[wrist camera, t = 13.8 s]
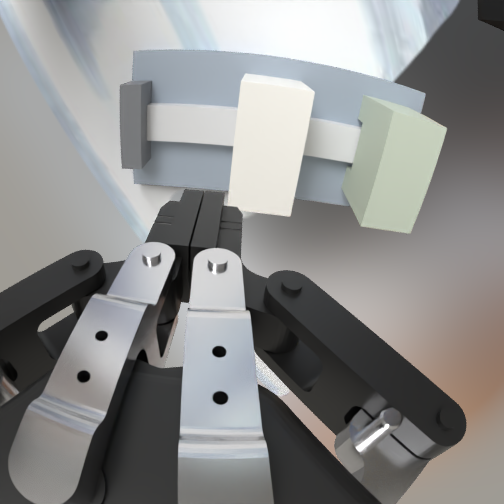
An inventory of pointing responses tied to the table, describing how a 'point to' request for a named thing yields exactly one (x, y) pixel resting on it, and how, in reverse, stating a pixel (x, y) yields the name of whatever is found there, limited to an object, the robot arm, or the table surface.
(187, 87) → the mounting plate
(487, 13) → the electrical component
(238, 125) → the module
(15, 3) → the table surface
